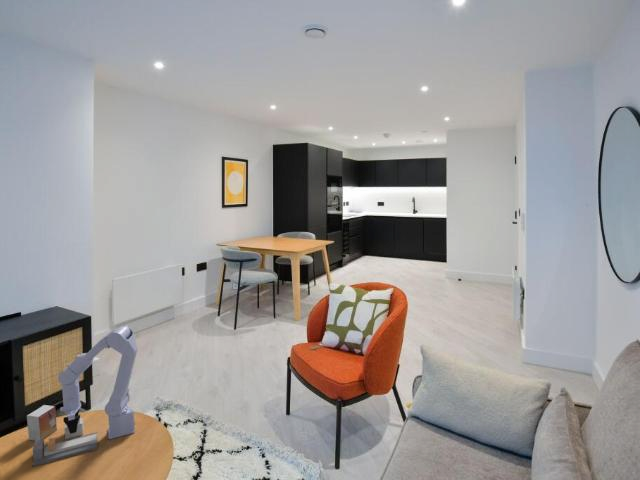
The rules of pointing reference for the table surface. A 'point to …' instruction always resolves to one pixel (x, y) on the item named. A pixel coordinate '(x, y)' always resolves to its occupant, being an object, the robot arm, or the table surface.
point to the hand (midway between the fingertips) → (73, 427)
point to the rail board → (63, 449)
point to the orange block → (52, 444)
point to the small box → (41, 422)
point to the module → (78, 432)
